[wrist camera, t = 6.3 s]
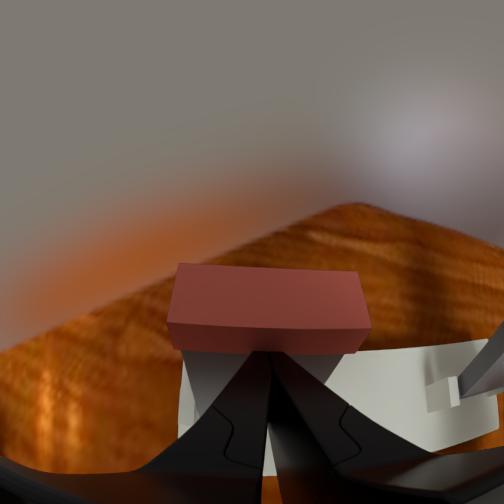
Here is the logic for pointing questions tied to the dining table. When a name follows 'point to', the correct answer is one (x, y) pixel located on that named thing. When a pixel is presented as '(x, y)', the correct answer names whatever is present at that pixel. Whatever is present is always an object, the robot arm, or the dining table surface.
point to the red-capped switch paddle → (262, 320)
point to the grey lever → (484, 368)
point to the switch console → (399, 395)
